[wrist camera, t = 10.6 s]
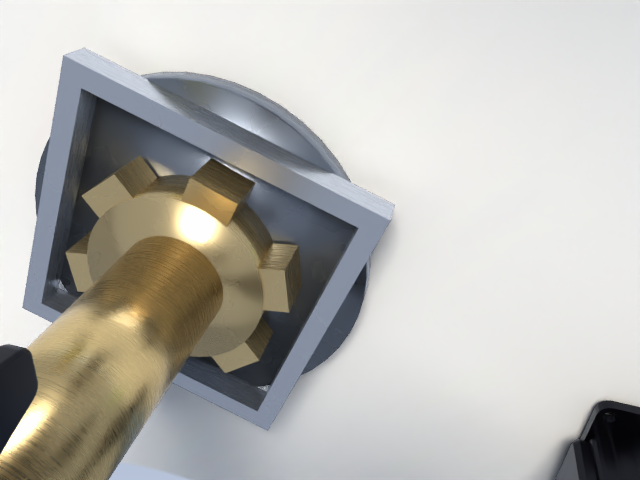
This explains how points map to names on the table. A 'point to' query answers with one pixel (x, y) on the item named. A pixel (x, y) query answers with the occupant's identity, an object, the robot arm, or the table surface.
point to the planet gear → (148, 313)
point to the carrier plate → (265, 200)
